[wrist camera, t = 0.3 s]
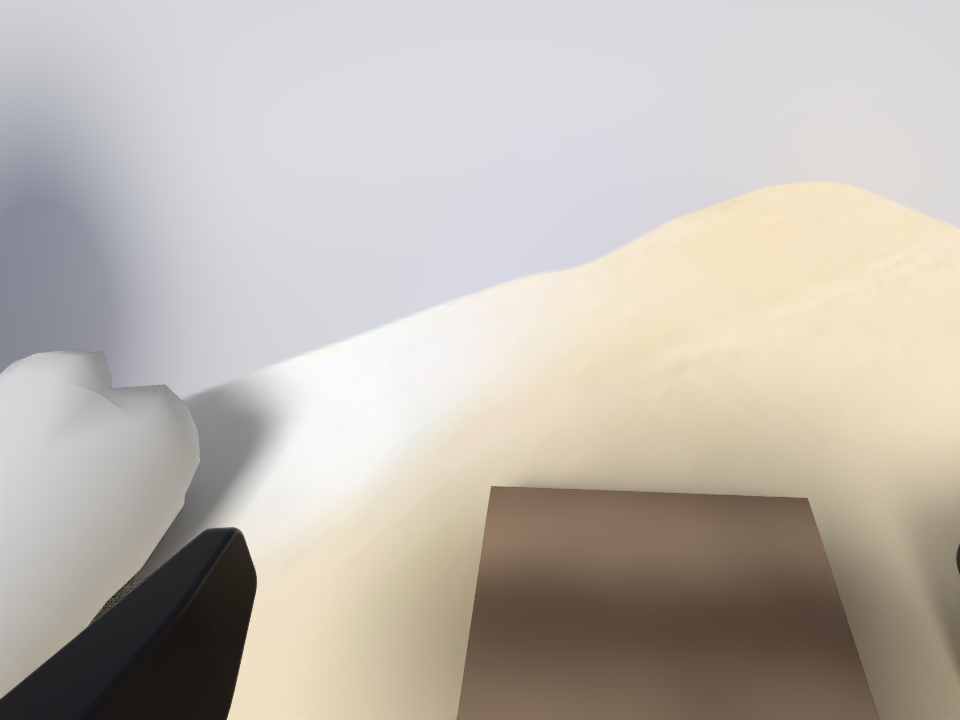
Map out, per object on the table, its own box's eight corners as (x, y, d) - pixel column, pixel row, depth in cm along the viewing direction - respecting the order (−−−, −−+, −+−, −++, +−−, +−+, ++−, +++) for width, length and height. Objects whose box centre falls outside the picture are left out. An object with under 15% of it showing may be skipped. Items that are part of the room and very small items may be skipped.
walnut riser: (896, 917, 19) (931, 878, 17) (452, 864, 20) (441, 824, 18) (792, 548, 28) (807, 498, 26) (496, 534, 30) (491, 486, 28)
